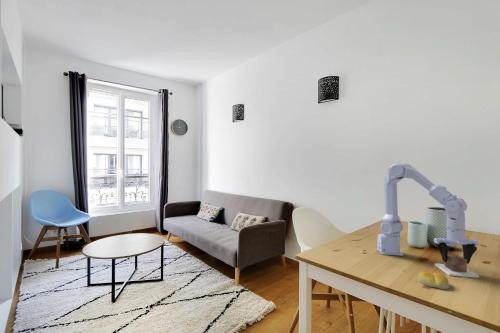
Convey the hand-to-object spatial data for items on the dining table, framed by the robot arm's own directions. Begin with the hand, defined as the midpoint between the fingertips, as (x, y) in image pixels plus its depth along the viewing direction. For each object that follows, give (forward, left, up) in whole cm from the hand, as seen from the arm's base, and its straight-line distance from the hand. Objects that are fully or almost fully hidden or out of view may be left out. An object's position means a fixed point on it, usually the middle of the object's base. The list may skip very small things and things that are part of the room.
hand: (455, 262), depth 98 cm
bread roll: (-14, -13, -4) cm, 20 cm away
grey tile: (0, 0, -4) cm, 4 cm away
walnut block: (0, 0, -3) cm, 3 cm away
